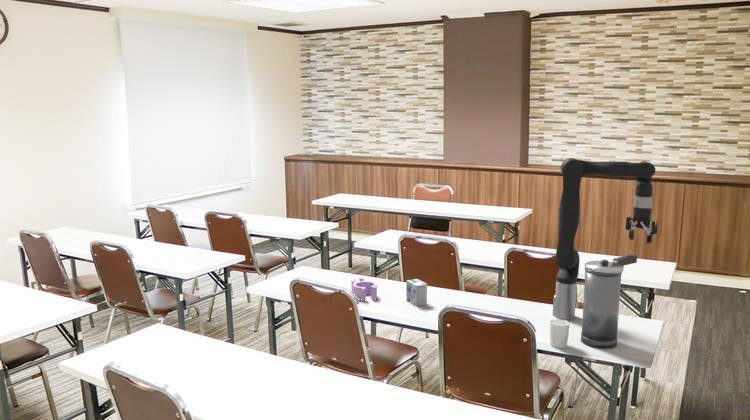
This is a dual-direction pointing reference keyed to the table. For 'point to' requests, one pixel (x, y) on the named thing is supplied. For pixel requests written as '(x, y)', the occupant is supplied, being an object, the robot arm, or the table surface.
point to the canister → (600, 309)
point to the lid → (611, 265)
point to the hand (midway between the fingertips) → (640, 241)
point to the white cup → (559, 333)
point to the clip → (364, 288)
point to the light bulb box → (416, 292)
